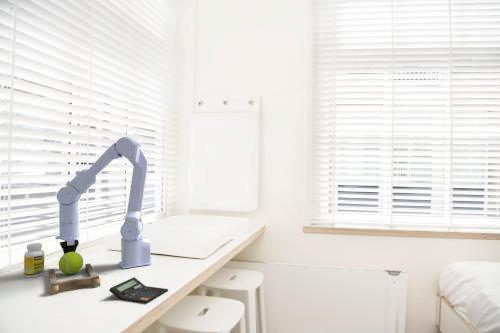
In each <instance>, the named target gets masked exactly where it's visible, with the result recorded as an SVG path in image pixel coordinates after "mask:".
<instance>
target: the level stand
mask: <svg viewBox="0 0 500 333" xmlns="http://www.w3.org/2000/svg"><path fill="white" fill-rule="evenodd" d="M84 268H85V271H86V273H87V275H88V276H86V277H78V278H72V279H67V280H59V281H57V277H56V276H57V275H56V271H55V270H56V269H55V268H49V269H48V275H49V276H48V278H49V292H50V293H49V294H50V296H51V295H52V296H55V295H58V294H59V293H64V292H69V291H70V292H71V291H75V290H80V289H85V288H86V287H87V288H91V286H93V287H92V288H99V287H101V278H100V276H99V275H97V273H96V272H95V270H94V267H92V264H91V263H85V264H84ZM98 286H99V287H98Z"/></svg>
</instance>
